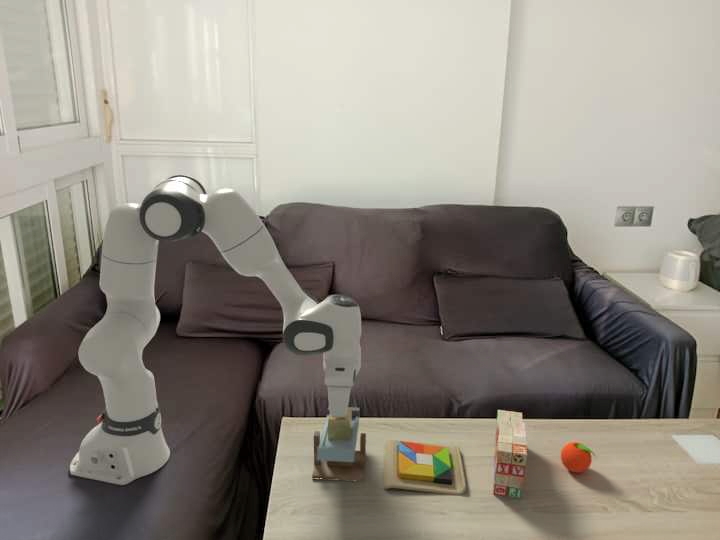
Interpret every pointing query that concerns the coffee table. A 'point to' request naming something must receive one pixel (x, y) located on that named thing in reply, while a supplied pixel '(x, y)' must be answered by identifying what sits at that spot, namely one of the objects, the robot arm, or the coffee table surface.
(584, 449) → the clementine
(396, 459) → the wooden puzzle
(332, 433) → the block
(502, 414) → the stack of blocks
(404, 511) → the coffee table surface
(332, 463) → the pivot stand
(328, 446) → the beam
